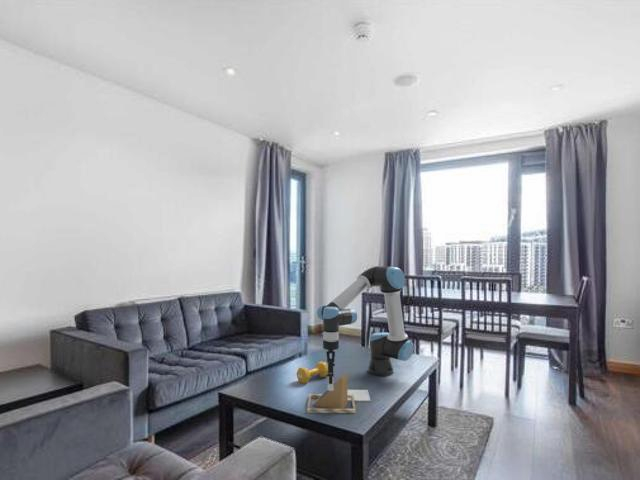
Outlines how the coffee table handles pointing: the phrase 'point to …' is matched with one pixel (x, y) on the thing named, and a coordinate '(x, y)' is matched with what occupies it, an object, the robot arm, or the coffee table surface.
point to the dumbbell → (312, 372)
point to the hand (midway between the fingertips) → (330, 384)
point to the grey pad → (359, 395)
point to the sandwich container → (335, 395)
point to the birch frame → (319, 410)
